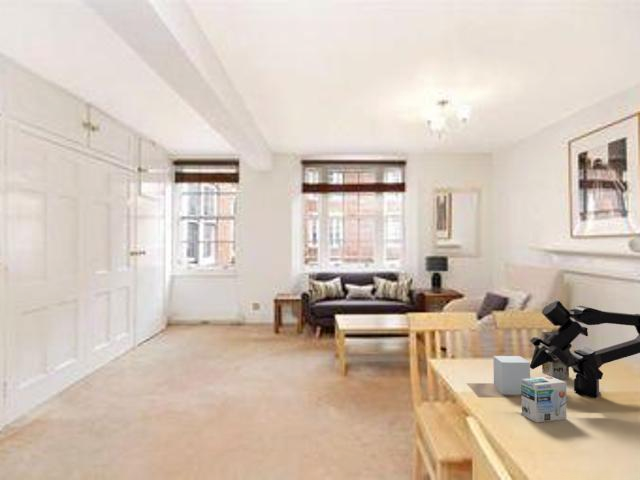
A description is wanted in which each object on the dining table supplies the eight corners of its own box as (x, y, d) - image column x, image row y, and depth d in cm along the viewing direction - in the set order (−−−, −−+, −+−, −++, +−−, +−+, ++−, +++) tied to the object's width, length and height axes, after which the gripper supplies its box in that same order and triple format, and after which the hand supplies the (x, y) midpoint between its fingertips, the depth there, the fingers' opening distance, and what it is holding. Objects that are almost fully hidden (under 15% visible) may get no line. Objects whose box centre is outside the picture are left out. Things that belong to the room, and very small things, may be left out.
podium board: (523, 387, 163) (523, 383, 163) (541, 401, 148) (541, 397, 148) (466, 386, 164) (466, 383, 164) (478, 400, 149) (478, 397, 149)
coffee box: (570, 378, 173) (569, 335, 173) (552, 378, 173) (551, 335, 173) (557, 372, 182) (557, 331, 182) (541, 372, 182) (540, 331, 182)
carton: (520, 386, 160) (520, 356, 160) (530, 394, 151) (529, 362, 151) (493, 386, 161) (493, 355, 161) (502, 394, 152) (501, 362, 152)
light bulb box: (536, 423, 130) (536, 385, 130) (520, 415, 137) (520, 378, 137) (567, 419, 133) (567, 381, 133) (550, 411, 140) (549, 375, 140)
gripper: (597, 359, 146) (561, 394, 146) (568, 346, 164) (537, 377, 165) (571, 334, 146) (535, 368, 147) (545, 324, 165) (514, 355, 165)
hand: (531, 368), depth 156 cm, fingers closed
